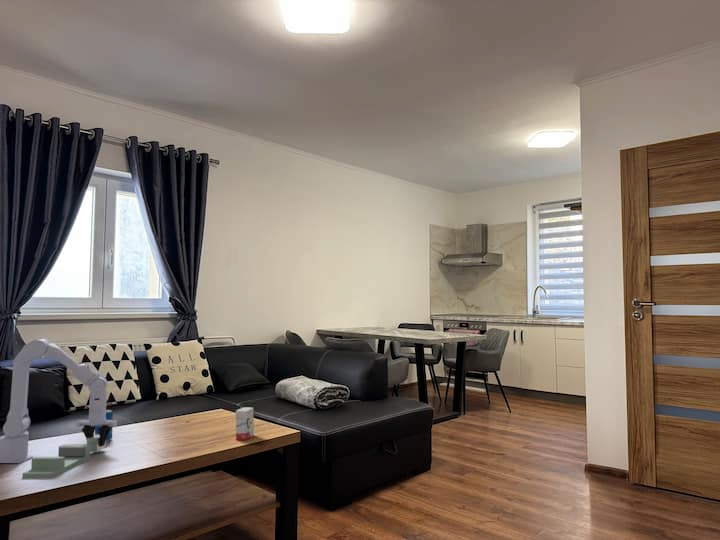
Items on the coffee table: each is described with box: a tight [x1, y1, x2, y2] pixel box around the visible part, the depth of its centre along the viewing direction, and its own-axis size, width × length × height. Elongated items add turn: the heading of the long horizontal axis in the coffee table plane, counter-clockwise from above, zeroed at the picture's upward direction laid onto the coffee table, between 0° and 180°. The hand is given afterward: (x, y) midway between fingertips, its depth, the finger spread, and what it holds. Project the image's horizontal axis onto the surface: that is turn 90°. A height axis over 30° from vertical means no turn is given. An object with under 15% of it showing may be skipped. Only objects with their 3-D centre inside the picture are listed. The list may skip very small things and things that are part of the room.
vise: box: [21, 454, 90, 479], centre depth 168 cm, size 10×20×5 cm, turn 178°
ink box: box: [235, 406, 255, 441], centre depth 206 cm, size 9×5×12 cm, turn 171°
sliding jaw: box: [57, 443, 92, 457], centre depth 177 cm, size 10×4×4 cm, turn 88°
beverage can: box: [94, 409, 114, 443], centre depth 203 cm, size 6×6×12 cm
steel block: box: [86, 434, 107, 453], centre depth 186 cm, size 4×6×5 cm, turn 178°
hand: (96, 445), depth 186 cm, fingers closed on steel block, 4 cm apart
